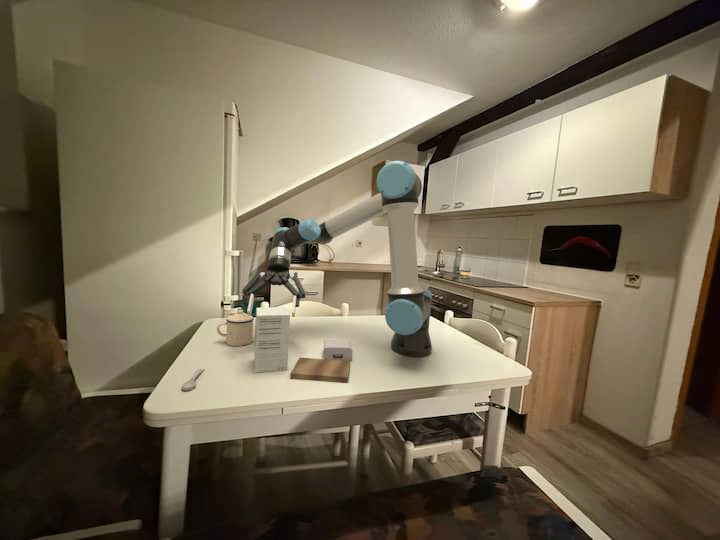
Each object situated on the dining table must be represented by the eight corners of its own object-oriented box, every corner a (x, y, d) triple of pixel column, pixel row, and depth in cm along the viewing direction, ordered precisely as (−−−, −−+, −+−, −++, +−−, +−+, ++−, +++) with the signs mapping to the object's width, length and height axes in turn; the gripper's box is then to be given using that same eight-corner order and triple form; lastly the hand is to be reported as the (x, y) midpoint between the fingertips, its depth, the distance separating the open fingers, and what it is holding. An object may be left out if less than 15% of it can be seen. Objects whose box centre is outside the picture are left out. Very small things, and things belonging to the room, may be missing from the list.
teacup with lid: (253, 337, 110) (254, 307, 109) (252, 346, 102) (253, 313, 101) (218, 338, 106) (219, 307, 105) (214, 347, 98) (215, 314, 97)
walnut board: (349, 365, 91) (350, 361, 91) (347, 382, 80) (348, 377, 80) (299, 362, 91) (299, 357, 91) (290, 378, 80) (290, 373, 80)
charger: (348, 345, 109) (351, 362, 94) (323, 344, 108) (323, 361, 93) (349, 333, 109) (352, 347, 94) (324, 332, 108) (324, 347, 93)
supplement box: (253, 359, 91) (255, 307, 89) (284, 357, 94) (286, 306, 92) (254, 373, 82) (256, 315, 80) (288, 370, 85) (290, 314, 83)
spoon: (179, 393, 70) (179, 385, 70) (195, 374, 81) (195, 366, 81) (192, 392, 70) (192, 384, 70) (207, 373, 82) (207, 366, 82)
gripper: (314, 271, 110) (311, 321, 97) (245, 267, 106) (232, 318, 93) (314, 258, 104) (311, 309, 91) (241, 253, 100) (227, 306, 87)
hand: (271, 314), depth 92 cm, fingers open, 13 cm apart
